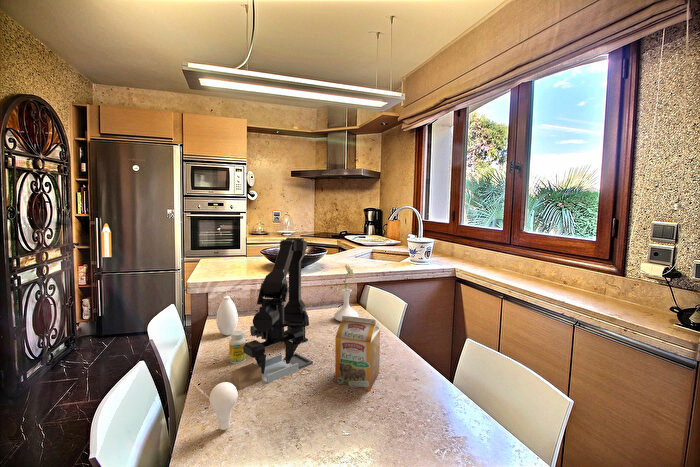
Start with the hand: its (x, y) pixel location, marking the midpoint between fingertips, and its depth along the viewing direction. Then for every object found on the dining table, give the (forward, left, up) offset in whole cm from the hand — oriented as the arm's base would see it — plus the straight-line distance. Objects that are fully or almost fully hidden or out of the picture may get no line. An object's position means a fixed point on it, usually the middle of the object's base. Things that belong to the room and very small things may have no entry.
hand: (275, 368), depth 106 cm
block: (+10, 0, -1) cm, 10 cm away
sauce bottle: (-3, -39, -1) cm, 39 cm away
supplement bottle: (+5, -15, -1) cm, 16 cm away
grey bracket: (0, 0, -1) cm, 1 cm away
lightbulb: (+24, +15, -1) cm, 28 cm away
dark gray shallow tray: (-9, 0, -1) cm, 9 cm away
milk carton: (-15, +21, -1) cm, 26 cm away
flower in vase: (-50, -19, -1) cm, 54 cm away
